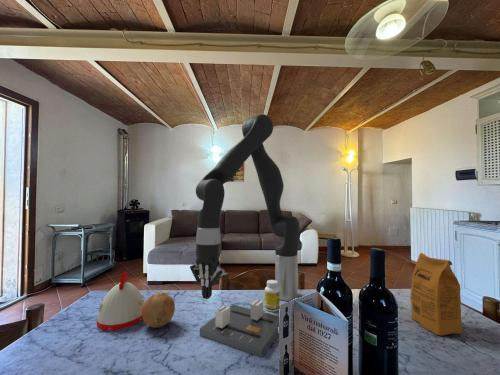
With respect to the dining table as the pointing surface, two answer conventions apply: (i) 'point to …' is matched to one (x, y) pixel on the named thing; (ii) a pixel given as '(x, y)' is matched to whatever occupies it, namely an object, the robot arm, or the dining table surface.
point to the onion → (158, 310)
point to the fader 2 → (256, 309)
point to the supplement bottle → (272, 296)
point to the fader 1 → (222, 316)
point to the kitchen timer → (120, 306)
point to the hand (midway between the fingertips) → (206, 297)
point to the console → (244, 331)
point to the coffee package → (436, 296)
